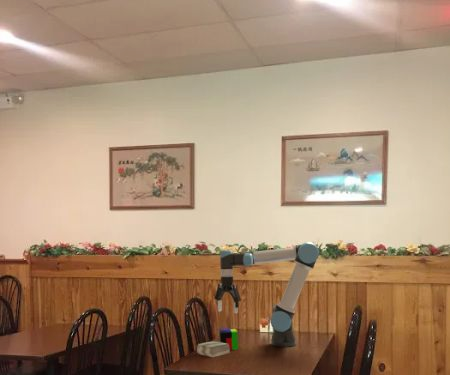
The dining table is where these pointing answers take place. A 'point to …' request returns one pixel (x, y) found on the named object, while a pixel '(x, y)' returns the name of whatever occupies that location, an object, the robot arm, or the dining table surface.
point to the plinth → (213, 348)
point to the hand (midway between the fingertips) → (227, 312)
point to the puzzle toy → (229, 338)
